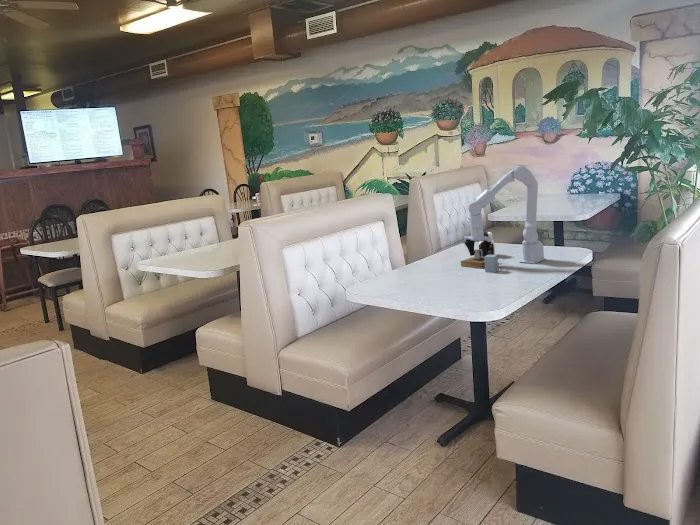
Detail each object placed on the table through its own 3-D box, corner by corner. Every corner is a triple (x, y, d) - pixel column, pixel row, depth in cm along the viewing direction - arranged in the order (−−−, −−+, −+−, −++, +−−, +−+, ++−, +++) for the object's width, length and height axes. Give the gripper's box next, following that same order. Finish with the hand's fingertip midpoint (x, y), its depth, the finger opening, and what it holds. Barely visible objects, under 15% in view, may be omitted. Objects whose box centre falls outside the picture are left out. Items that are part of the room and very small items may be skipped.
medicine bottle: (479, 257, 279) (477, 234, 276) (480, 254, 285) (478, 231, 283) (494, 257, 276) (492, 233, 274) (495, 254, 283) (493, 230, 281)
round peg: (478, 263, 267) (477, 249, 265) (484, 264, 264) (483, 249, 263) (473, 265, 265) (472, 250, 263) (479, 265, 262) (478, 251, 260)
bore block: (476, 260, 273) (476, 255, 272) (497, 262, 263) (497, 257, 263) (461, 266, 265) (460, 261, 265) (481, 268, 256) (481, 263, 256)
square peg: (489, 269, 253) (487, 254, 251) (498, 270, 250) (497, 254, 249) (485, 272, 249) (484, 256, 248) (494, 272, 246) (493, 256, 245)
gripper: (458, 228, 264) (461, 256, 267) (484, 229, 253) (486, 258, 255) (468, 225, 268) (470, 253, 271) (493, 226, 257) (495, 255, 260)
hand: (478, 256), depth 263 cm, fingers open, 7 cm apart
